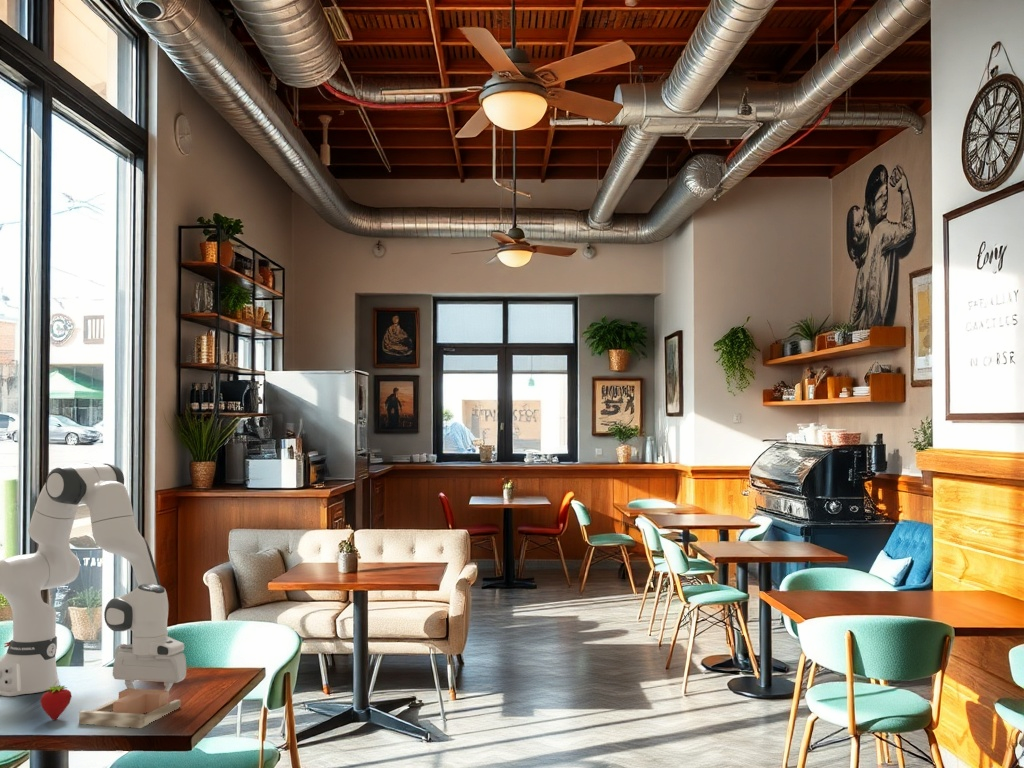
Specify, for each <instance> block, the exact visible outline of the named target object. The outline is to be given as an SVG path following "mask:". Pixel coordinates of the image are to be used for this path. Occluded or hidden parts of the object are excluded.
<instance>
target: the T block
mask: <svg viewBox="0 0 1024 768" xmlns="http://www.w3.org/2000/svg"><path fill="white" fill-rule="evenodd" d="M118 698H119V699H118ZM118 698H117V699H118V700H116V701H114V704H113V711H112V712H117V713H133V714H143V713H145V714H148V713H150V712H152V711H154V710H156V709H158V708H160V707H162V706H164V705H166V704H168V703H169V696H168V691H164V689H145V688H144V689H143V688H135V689H132V688H127V687H126V689H123V690H121V691H119V692H118ZM146 712H147V713H146Z"/></svg>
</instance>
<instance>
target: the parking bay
mask: <svg viewBox="0 0 1024 768" xmlns="http://www.w3.org/2000/svg"><path fill="white" fill-rule="evenodd" d="M118 699H119V697H118V698H116V699H113V700H111V701H109V702H107V703H105V704H102V705H100V706H98V707H96V708H94V709H92V710H86V709H85V710H80V711H79V712H78V725H86V724H95V725H94V726H101V725H106V726H105V727H115V726H117V728H118V727H119V728H129V727H131V728H132V729H142V728H144V727H146V726H148V725H150V724H152V723H154V722H155V720H156V721H157V720H159V719H162V718H163V717H165V716H167V715H168V713H169V714H171V713H173V712H174V710H175V711H176V710H178V709H180V708H181V699H174V700H172V701H170V702H168V704H166V705H164V706H162V707H160V708H158V709H156V710H154V711H152V712H150V713H145V714H133V713H117V712H113V711H112V710H113V704H114V701H116V700H118ZM179 707H180V708H179ZM110 711H111V712H110ZM172 711H173V712H172ZM170 712H171V713H170ZM166 714H167V715H166ZM164 715H165V716H164ZM162 716H163V717H162ZM153 721H154V722H153ZM151 722H152V723H151ZM149 723H150V724H149Z"/></svg>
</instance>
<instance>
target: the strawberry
mask: <svg viewBox="0 0 1024 768" xmlns="http://www.w3.org/2000/svg"><path fill="white" fill-rule="evenodd" d="M55 684H56V683H55ZM55 684H54V685H55ZM50 688H51V689H47V690H45V691H44V692H45V693H43V695H41V698H40V704H41V708H42V709H43V710H44V713H45V714H47V716H49V717H50V719H51V720H54V721H55V720H58V719H59V717H60V716H61V715H62V714H63V712H64V711H66V709H67V707H68V706H69V704H70V702H71V699H72V691H70V690H69V689H67V688H68V687H65V685H61V686H60V685H59V686H56V687H55V686H54V687H50Z"/></svg>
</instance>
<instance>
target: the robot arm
mask: <svg viewBox="0 0 1024 768" xmlns="http://www.w3.org/2000/svg"><path fill="white" fill-rule="evenodd" d="M130 498H131V497H130V495H129V493H128V490H127V488H126V485H125V476H124V473H123V471H122V469H121V468H120V467H118V466H116V465H114V464H110V463H81V464H74V465H69V464H68V465H61V466H58V467H56V468H53V469H52V470H51V471H50V472H49V473H48V474H47V476H46V481H45V482H44V485H43V487H42V488H41V491H40V493H39V495H38V497H37V500H36V503H35V507H34V510H33V512H32V516H31V519H30V522H29V526H28V529H27V530H28V535H29V537H30V539H31V540H32V541H33V542H35V543H36V544H38V547H37V550H36V552H34V553H27V554H17V555H12V556H9V557H6V558H3V559H1V560H0V595H2V596H3V597H4V599H6V601H7V602H8V605H9V607H10V608H11V613H12V629H13V630H12V640H10V641H8V642H5V643H4V645H3V648H7V647H8V648H7V650H6V653H5V654H3V655H2V656H1V657H0V696H3V697H4V696H5V697H15V696H20V695H25V694H26V695H27V694H35V693H37V694H38V693H42V692H46V691H45V690H47V689H51V688H50V687H54V686H55V687H56V686H58V687H60V685H61V683H60V679H59V675H58V669H57V661H56V659H57V658H56V655H57V649H58V637H57V636H56V632H57V630H56V627H57V610H56V609H55V608H54V607H53V606H52V605H50V604H48V603H47V602H44V600H43V598H42V590H48V589H49V590H50V589H56V588H61V587H63V586H65V585H68V584H70V583H72V582H74V581H75V580H76V579H77V578H78V576H79V575H80V574H79V573H80V569H81V565H80V560H79V558H78V557H77V555H76V554H75V553H74V552H73V551H72V550H71V546H70V539H71V533H72V530H73V525H74V522H75V519H76V516H77V512H78V508H79V504H85V505H86V506H87V507H88V509H89V515H90V524H91V525H90V526H91V531H92V536H93V539H94V542H95V544H96V545H97V547H99V548H101V550H103V551H105V552H108V553H109V554H110V553H111V554H113V555H117V556H120V557H121V558H124V559H125V560H127V561H128V562H129V563H130V565H131V567H132V570H133V574H134V577H135V580H136V583H137V586H136V588H135V589H134V590H132V591H130V592H128V593H126V594H122V595H120V596H117V597H114V598H112V599H110V600H108V602H107V604H106V606H105V607H104V614H103V615H104V621H105V624H106V626H107V627H108V628H109V629H110V630H111V631H113V632H126V631H132V644H130V643H129V644H126V643H121V644H120V645H118V646H116V648H115V650H114V659H113V665H112V676H113V678H114V680H122V681H124V685H125V686H126V689H127V688H132V689H136V688H135V686H134V682H135V681H138V682H139V681H140V682H141V681H142V682H154V683H155V682H159V683H160V682H161V683H163V686H164V689H163V690H164V691H168V697H169V695H170V690H171V689H172V687H173V685H174V683H175V684H177V683H180V682H182V681H184V679H185V678H186V677H187V660H186V655H185V654H184V653H183V651H184V650H185V644H184V642H182V641H179V640H176V639H175V638H173V637H170V636H168V627H167V628H166V622H167V623H168V618H169V610H170V609H169V608H170V604H169V599H168V593H167V591H166V588H165V587H164V586H162V584H161V581H160V577H159V575H158V571H157V568H156V564H155V561H154V558H153V553H152V552H151V548H150V546H149V543H148V540H147V539H146V538H145V537H144V536H143V535H141V533H140V532H139V529H138V527H137V524H136V521H135V516H134V510H133V506H132V502H131V499H130ZM55 683H56V684H55ZM54 684H55V685H54Z"/></svg>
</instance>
